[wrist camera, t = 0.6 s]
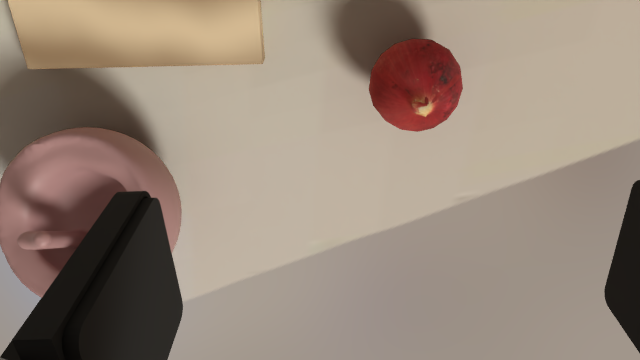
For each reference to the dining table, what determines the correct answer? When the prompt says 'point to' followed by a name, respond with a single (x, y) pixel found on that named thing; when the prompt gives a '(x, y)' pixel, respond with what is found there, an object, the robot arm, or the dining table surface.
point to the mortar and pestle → (73, 196)
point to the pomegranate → (416, 84)
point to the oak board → (138, 32)
